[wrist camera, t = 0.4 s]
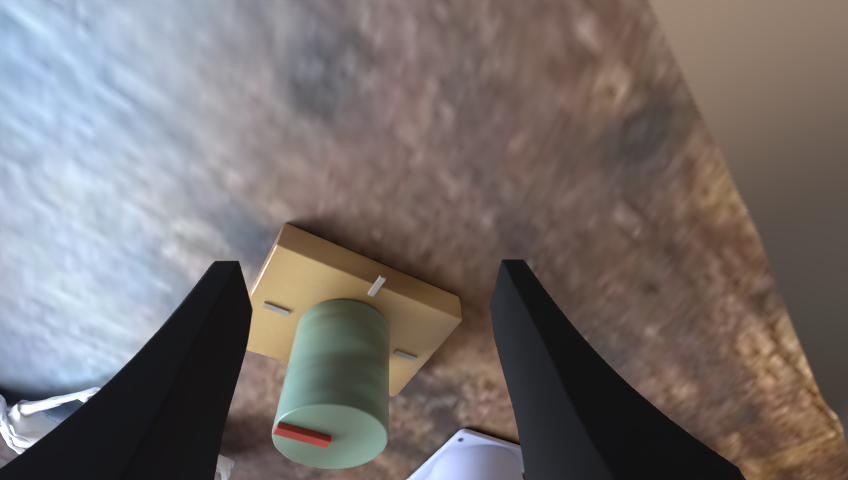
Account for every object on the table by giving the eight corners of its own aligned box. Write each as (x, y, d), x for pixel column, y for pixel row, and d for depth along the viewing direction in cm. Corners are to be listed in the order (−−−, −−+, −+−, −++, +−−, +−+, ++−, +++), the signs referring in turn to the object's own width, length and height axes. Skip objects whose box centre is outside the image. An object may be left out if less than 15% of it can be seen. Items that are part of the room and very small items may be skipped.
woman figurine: (201, 542, 35) (-72, 484, 31) (224, 483, 39) (-18, 424, 34) (236, 466, 29) (-97, 381, 25) (258, 405, 33) (-29, 322, 29)
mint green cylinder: (406, 319, 26) (409, 430, 20) (364, 372, 28) (356, 485, 23) (319, 285, 24) (296, 397, 19) (283, 345, 27) (253, 459, 21)
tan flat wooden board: (466, 288, 27) (470, 314, 26) (390, 378, 32) (389, 406, 30) (289, 211, 24) (280, 235, 22) (232, 325, 28) (221, 353, 26)
